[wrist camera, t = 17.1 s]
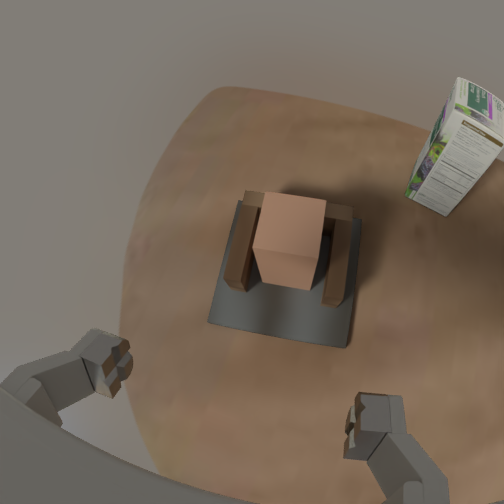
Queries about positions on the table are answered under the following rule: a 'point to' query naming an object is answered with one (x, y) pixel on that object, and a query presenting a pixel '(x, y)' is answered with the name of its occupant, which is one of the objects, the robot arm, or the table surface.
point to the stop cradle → (287, 298)
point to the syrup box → (458, 147)
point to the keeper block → (289, 239)
